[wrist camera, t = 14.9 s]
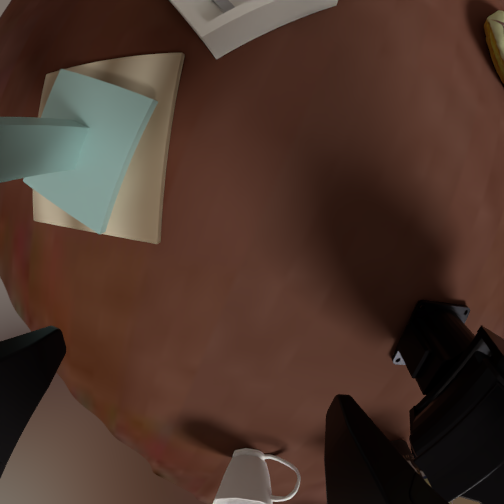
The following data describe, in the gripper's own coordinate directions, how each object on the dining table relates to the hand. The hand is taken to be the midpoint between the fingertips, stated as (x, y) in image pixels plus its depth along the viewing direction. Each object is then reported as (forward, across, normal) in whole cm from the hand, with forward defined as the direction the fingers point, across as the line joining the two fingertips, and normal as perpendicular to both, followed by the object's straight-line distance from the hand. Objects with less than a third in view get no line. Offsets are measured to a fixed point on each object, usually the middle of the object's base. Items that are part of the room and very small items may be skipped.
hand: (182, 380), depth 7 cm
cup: (+13, -6, +27) cm, 31 cm away
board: (+13, +13, -6) cm, 19 cm away
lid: (+12, +13, -6) cm, 19 cm away
